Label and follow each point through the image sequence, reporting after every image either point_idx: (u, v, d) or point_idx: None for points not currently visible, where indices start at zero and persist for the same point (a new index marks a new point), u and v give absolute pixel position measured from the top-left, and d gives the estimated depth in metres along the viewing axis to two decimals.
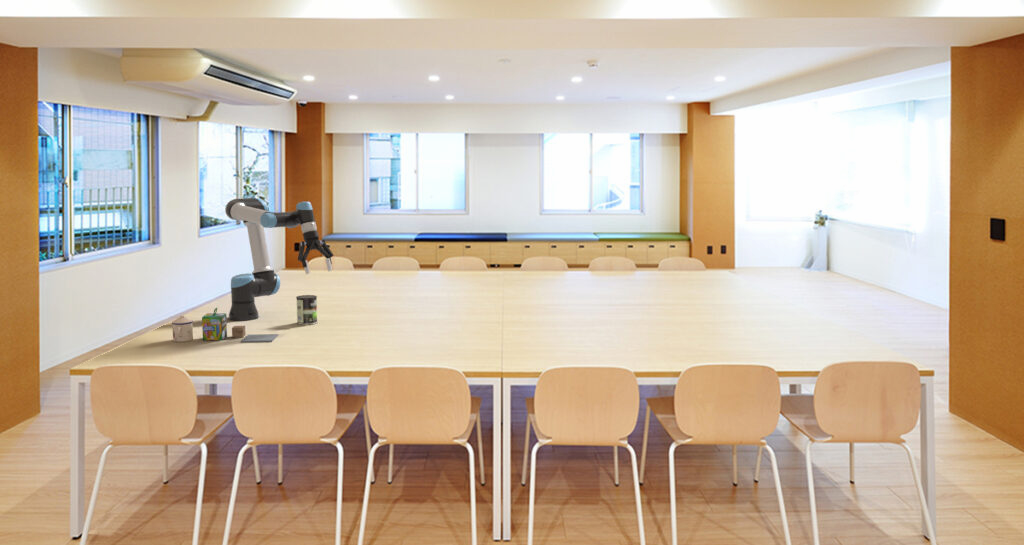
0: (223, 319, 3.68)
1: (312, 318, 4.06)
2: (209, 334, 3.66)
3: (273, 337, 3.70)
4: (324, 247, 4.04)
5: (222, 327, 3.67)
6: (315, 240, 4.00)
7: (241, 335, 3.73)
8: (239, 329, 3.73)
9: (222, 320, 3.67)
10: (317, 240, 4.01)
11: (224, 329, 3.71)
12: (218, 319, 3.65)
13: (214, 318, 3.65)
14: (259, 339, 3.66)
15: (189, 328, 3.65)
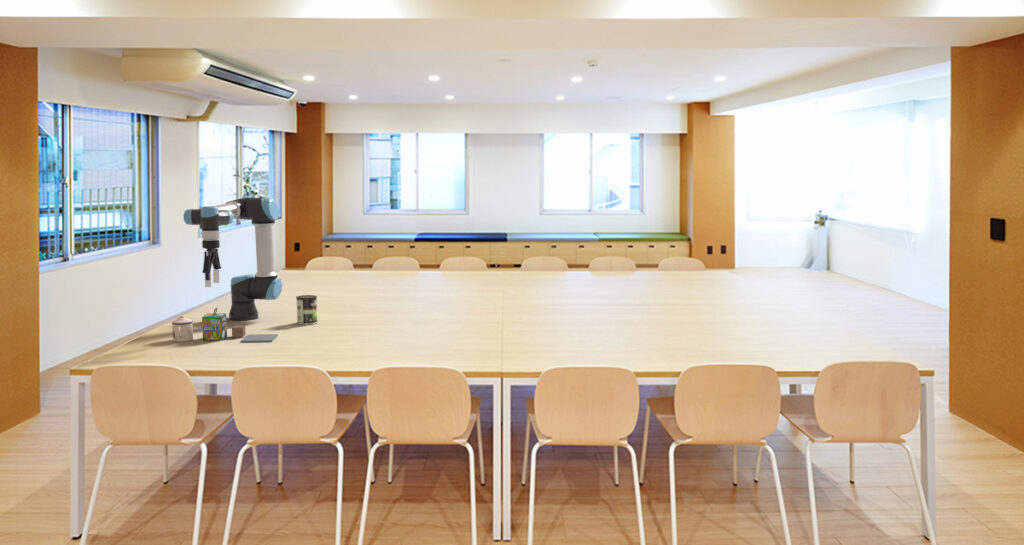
0: (223, 319, 3.68)
1: (312, 318, 4.06)
2: (209, 334, 3.66)
3: (273, 337, 3.70)
4: None
5: (222, 327, 3.67)
6: None
7: (241, 335, 3.73)
8: (239, 329, 3.73)
9: (222, 320, 3.67)
10: None
11: (224, 329, 3.70)
12: (218, 319, 3.65)
13: (214, 318, 3.65)
14: (259, 339, 3.66)
15: (189, 328, 3.65)
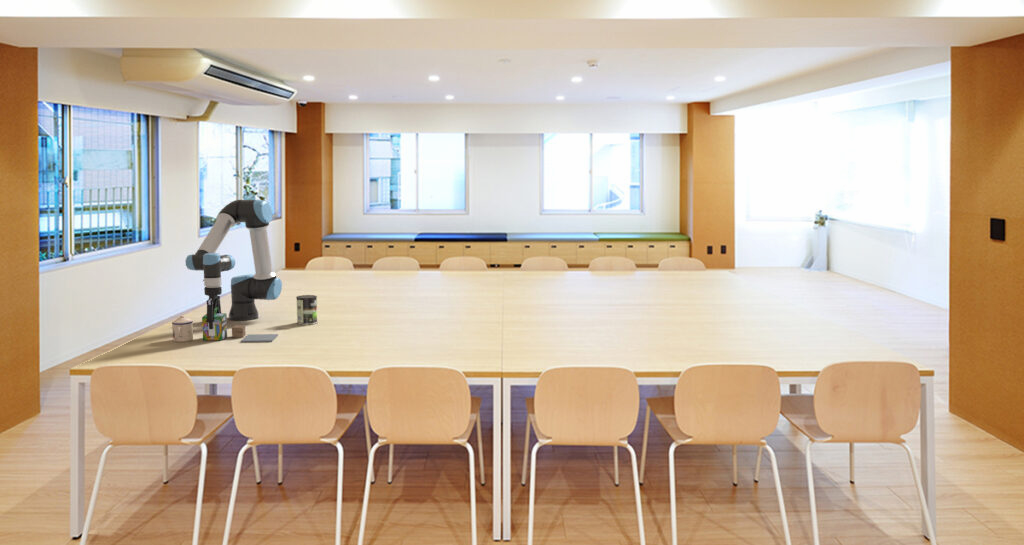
0: (223, 319, 3.68)
1: (312, 318, 4.06)
2: None
3: (273, 337, 3.70)
4: None
5: (222, 326, 3.67)
6: None
7: (241, 335, 3.73)
8: (239, 329, 3.73)
9: (222, 320, 3.67)
10: None
11: (224, 329, 3.70)
12: (218, 319, 3.65)
13: (214, 318, 3.65)
14: (259, 339, 3.66)
15: (189, 328, 3.65)
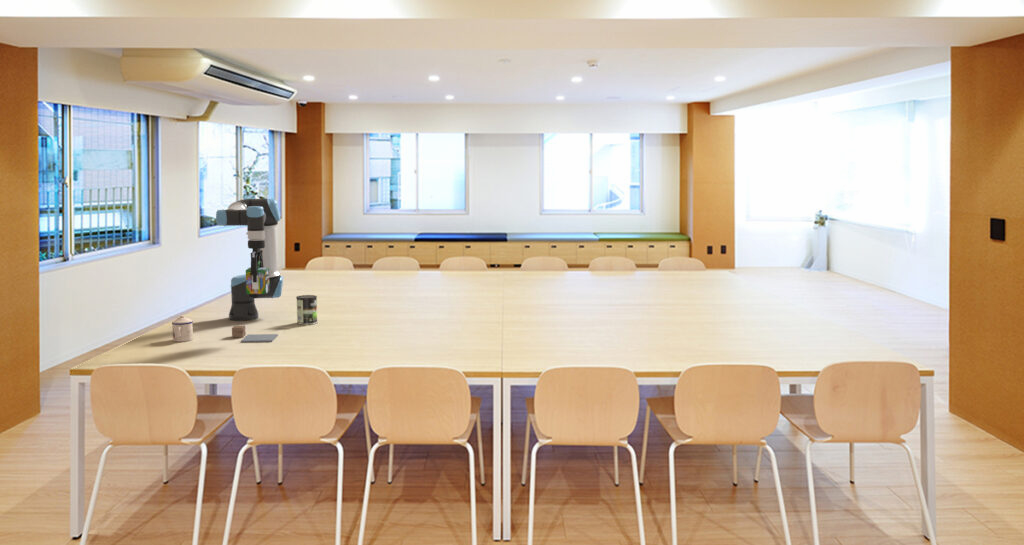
0: (266, 273, 3.65)
1: (312, 318, 4.06)
2: None
3: (273, 337, 3.70)
4: None
5: (265, 280, 3.64)
6: None
7: (241, 335, 3.73)
8: (239, 329, 3.73)
9: (265, 274, 3.64)
10: None
11: (267, 283, 3.68)
12: (262, 272, 3.62)
13: (258, 271, 3.62)
14: (259, 339, 3.66)
15: (189, 328, 3.65)
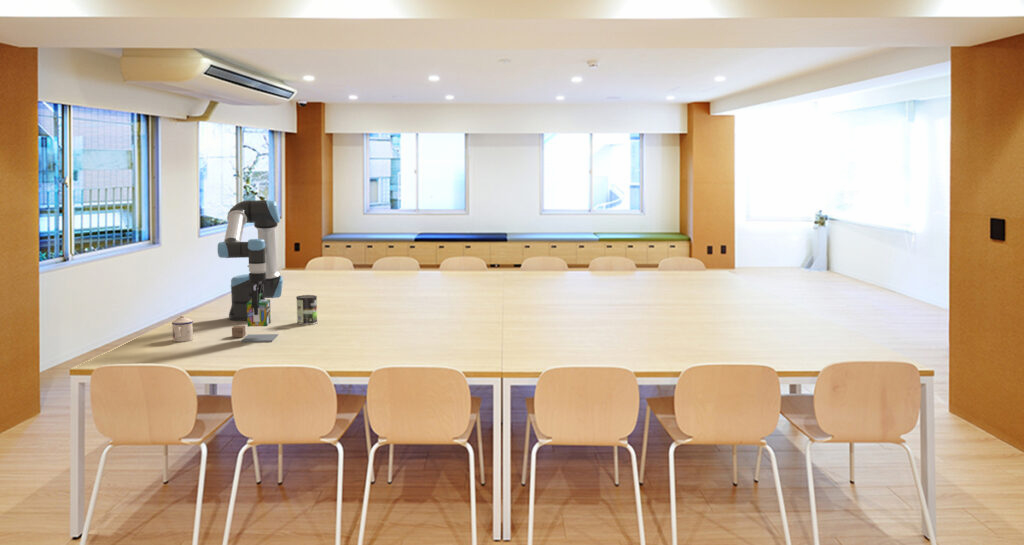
0: (267, 305, 3.67)
1: (312, 318, 4.06)
2: (253, 320, 3.65)
3: (273, 337, 3.70)
4: None
5: (266, 312, 3.66)
6: None
7: (241, 335, 3.73)
8: (239, 329, 3.73)
9: (266, 306, 3.66)
10: None
11: (268, 315, 3.70)
12: (263, 305, 3.64)
13: (259, 304, 3.64)
14: (259, 339, 3.66)
15: (189, 328, 3.65)
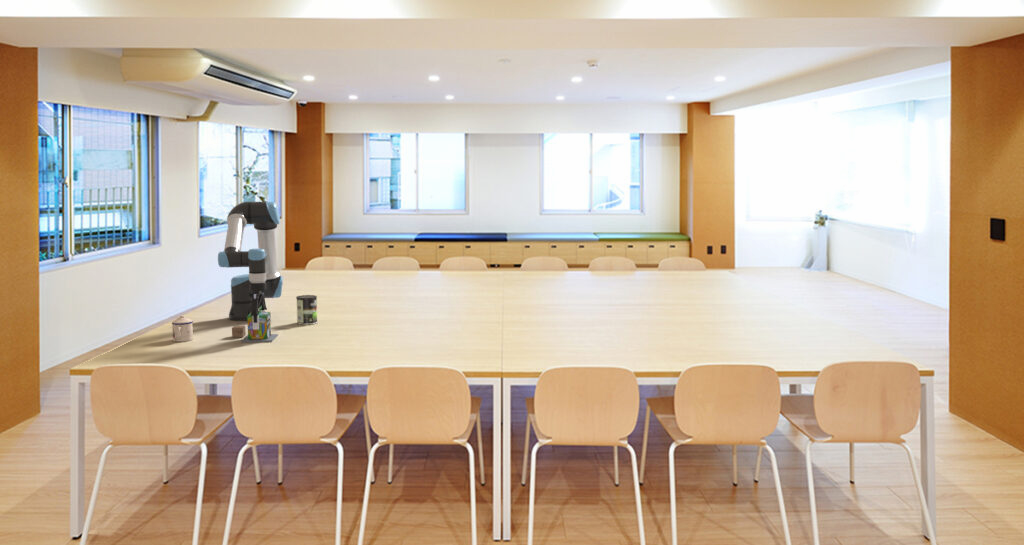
0: (267, 318, 3.68)
1: (312, 318, 4.06)
2: (254, 333, 3.65)
3: (273, 337, 3.70)
4: None
5: (267, 325, 3.67)
6: None
7: (241, 335, 3.73)
8: (239, 329, 3.73)
9: (267, 319, 3.67)
10: None
11: (268, 328, 3.70)
12: (263, 318, 3.65)
13: (259, 317, 3.65)
14: (259, 339, 3.66)
15: (189, 328, 3.65)
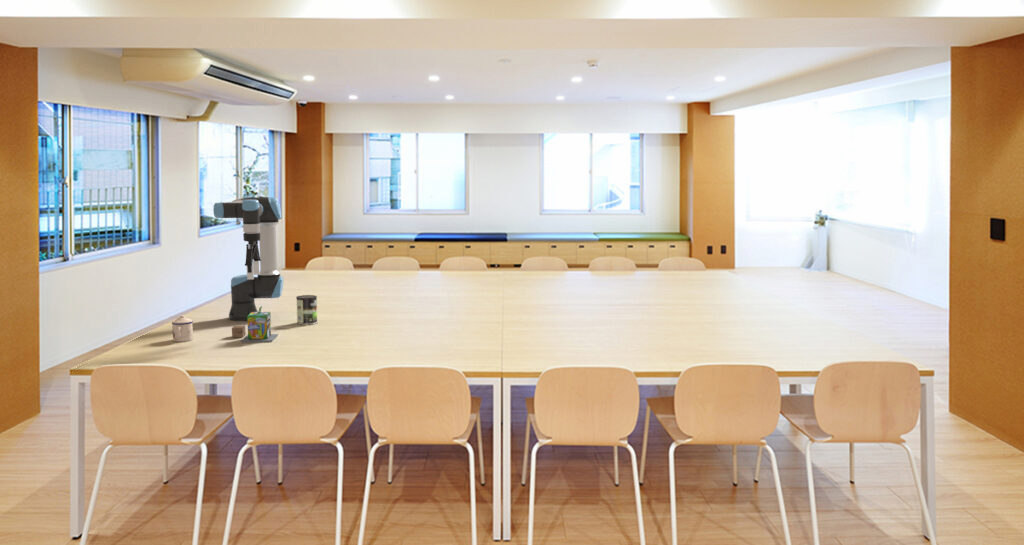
0: (267, 318, 3.68)
1: (312, 318, 4.06)
2: (254, 333, 3.65)
3: (273, 337, 3.70)
4: None
5: (267, 325, 3.67)
6: None
7: (241, 335, 3.73)
8: (239, 329, 3.73)
9: (267, 319, 3.67)
10: None
11: (268, 328, 3.70)
12: (263, 318, 3.65)
13: (259, 317, 3.65)
14: (259, 339, 3.66)
15: (189, 328, 3.65)
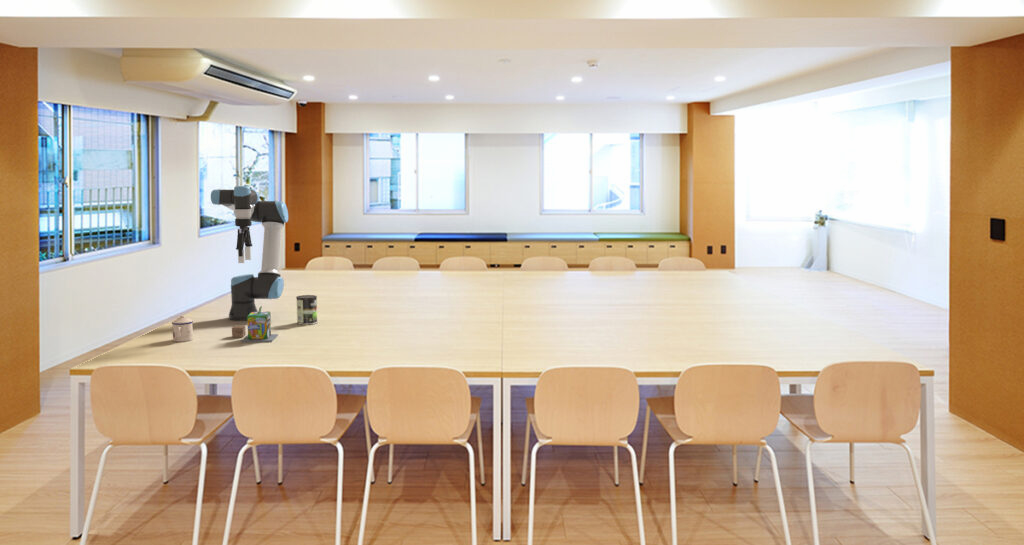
0: (267, 318, 3.68)
1: (312, 318, 4.06)
2: (254, 333, 3.65)
3: (273, 337, 3.70)
4: None
5: (267, 325, 3.67)
6: None
7: (241, 335, 3.73)
8: (239, 329, 3.73)
9: (267, 319, 3.67)
10: None
11: (268, 328, 3.70)
12: (263, 318, 3.65)
13: (259, 317, 3.65)
14: (259, 339, 3.66)
15: (189, 328, 3.65)
